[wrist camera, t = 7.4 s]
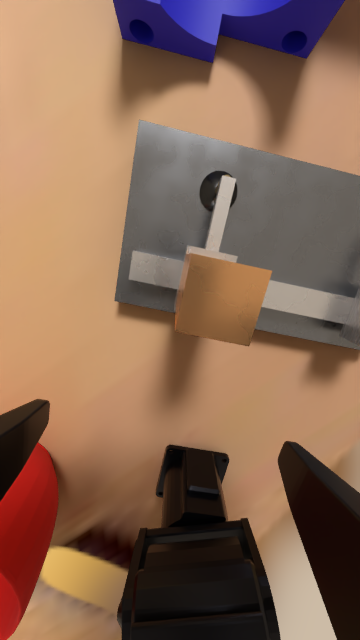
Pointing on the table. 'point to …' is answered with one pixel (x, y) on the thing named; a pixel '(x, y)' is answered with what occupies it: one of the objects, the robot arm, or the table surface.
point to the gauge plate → (246, 230)
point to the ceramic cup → (25, 535)
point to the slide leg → (219, 284)
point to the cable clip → (225, 24)
